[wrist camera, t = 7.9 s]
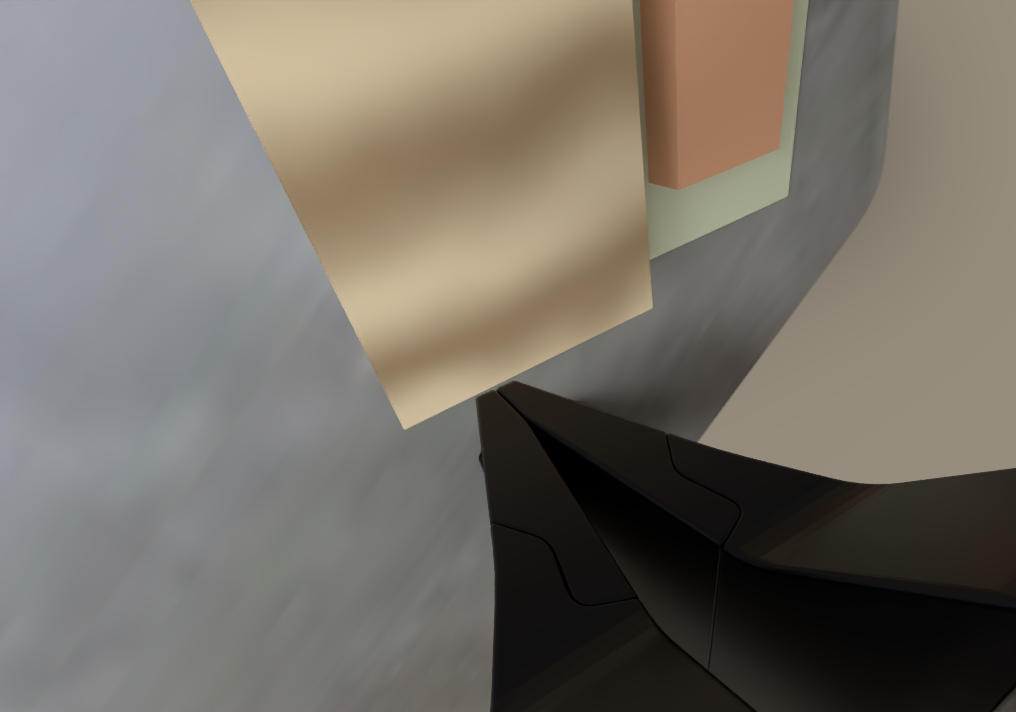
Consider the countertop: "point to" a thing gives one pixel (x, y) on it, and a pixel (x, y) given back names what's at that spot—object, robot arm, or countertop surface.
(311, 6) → the tan wooden flat block
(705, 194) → the mat
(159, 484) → the countertop surface
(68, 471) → the countertop surface
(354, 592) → the countertop surface
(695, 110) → the tile
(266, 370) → the countertop surface
